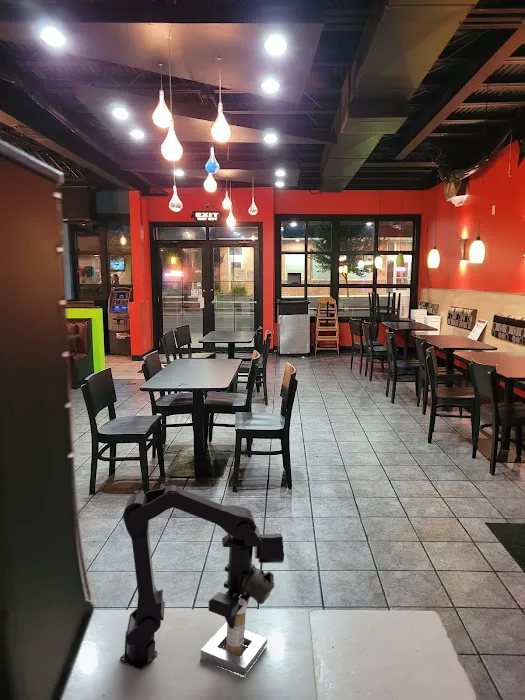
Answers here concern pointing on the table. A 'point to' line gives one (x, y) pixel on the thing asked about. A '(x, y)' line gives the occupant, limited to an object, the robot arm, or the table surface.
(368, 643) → the table surface
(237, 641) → the sprinkles bottle
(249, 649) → the metal collar
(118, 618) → the table surface
